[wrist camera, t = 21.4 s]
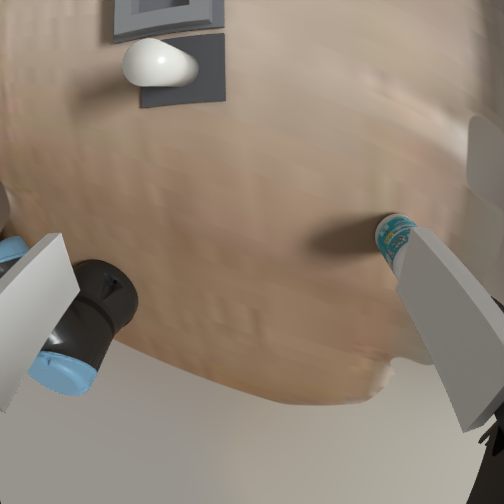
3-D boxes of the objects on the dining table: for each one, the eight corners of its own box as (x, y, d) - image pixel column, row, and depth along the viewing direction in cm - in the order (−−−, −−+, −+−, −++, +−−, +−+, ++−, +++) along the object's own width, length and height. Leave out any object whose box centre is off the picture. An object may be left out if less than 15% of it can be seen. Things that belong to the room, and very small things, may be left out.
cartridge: (164, 88, 37) (123, 89, 25) (163, 55, 34) (121, 43, 22) (199, 85, 37) (171, 82, 25) (198, 51, 34) (170, 34, 22)
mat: (143, 107, 39) (142, 108, 38) (141, 44, 34) (139, 43, 33) (225, 100, 39) (225, 100, 38) (224, 34, 34) (223, 33, 33)
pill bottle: (405, 204, 45) (446, 243, 33) (416, 240, 48) (452, 284, 37) (367, 223, 47) (397, 269, 35) (380, 258, 50) (408, 307, 38)
